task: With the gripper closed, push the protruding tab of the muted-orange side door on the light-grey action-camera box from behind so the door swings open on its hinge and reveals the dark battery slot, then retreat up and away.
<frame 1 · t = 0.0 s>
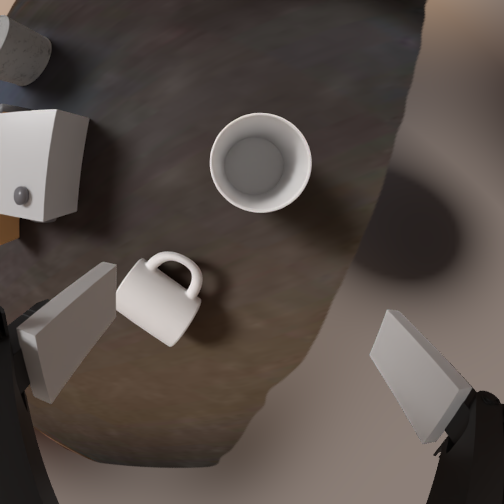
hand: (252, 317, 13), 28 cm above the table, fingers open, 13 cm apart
side door: (4, 174, 33), point 4 cm above the table, hinge at 0.0°
grey mottled cylinder: (31, 61, 32), on the table
mug: (169, 281, 43), on the table
camera body: (51, 162, 37), on the table
cup: (254, 166, 39), on the table
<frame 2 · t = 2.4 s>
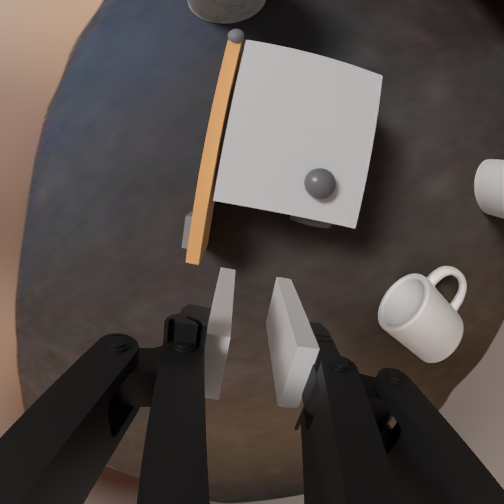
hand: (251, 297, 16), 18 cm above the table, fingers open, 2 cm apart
side door: (212, 143, 27), point 4 cm above the table, hinge at 0.0°
mug: (417, 295, 37), on the table
camera body: (288, 140, 31), on the table
cup: (490, 186, 33), on the table
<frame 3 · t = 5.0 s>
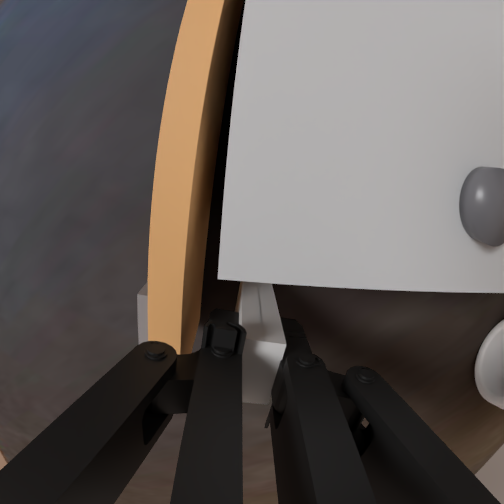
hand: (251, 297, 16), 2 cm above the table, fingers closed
side door: (192, 116, 11), point 4 cm above the table, hinge at 2.5°, touching gripper
camera body: (350, 109, 15), on the table
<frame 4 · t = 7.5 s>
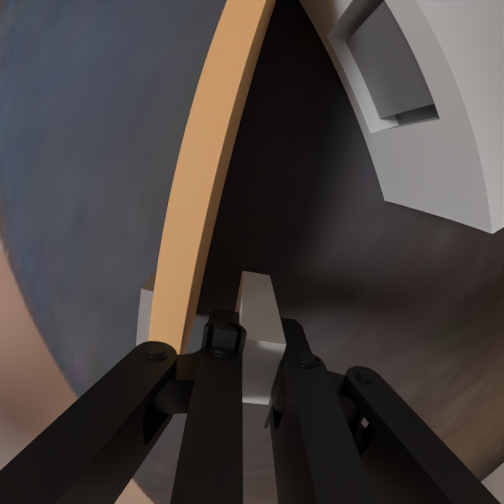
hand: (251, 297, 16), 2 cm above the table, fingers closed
side door: (214, 115, 11), point 4 cm above the table, hinge at 36.1°, touching gripper
camera body: (421, 70, 14), on the table
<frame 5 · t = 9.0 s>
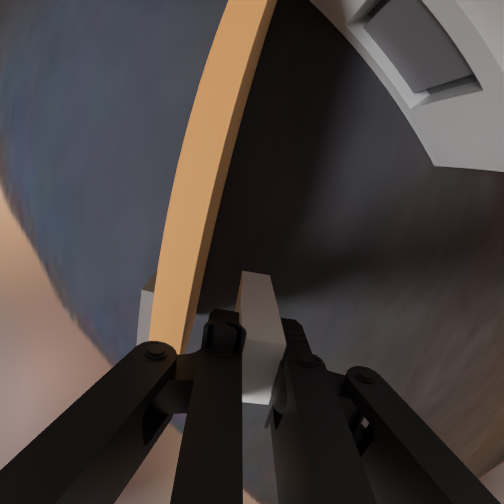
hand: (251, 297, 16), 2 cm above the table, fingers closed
side door: (215, 117, 11), point 4 cm above the table, hinge at 53.0°, touching gripper
camera body: (428, 37, 13), on the table
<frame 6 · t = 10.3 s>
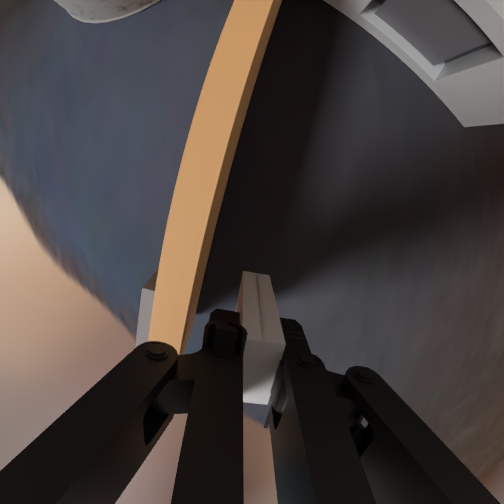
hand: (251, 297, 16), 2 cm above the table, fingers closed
side door: (218, 116, 11), point 4 cm above the table, hinge at 69.3°, touching gripper
camera body: (425, 8, 13), on the table
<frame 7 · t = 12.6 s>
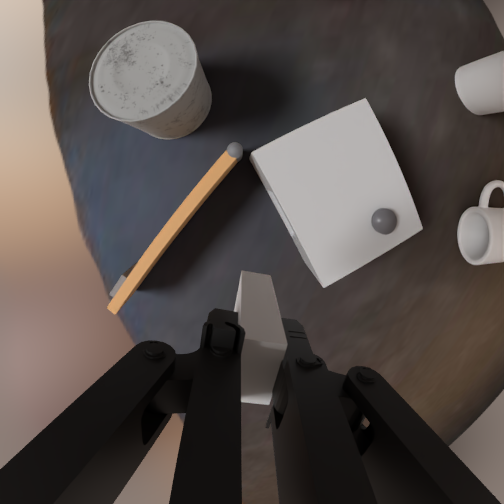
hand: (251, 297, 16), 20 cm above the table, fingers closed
side door: (171, 226, 31), point 4 cm above the table, hinge at 69.5°
grey mottled cylinder: (172, 101, 32), on the table
mug: (478, 217, 36), on the table
camera body: (322, 188, 35), on the table
cup: (472, 90, 31), on the table
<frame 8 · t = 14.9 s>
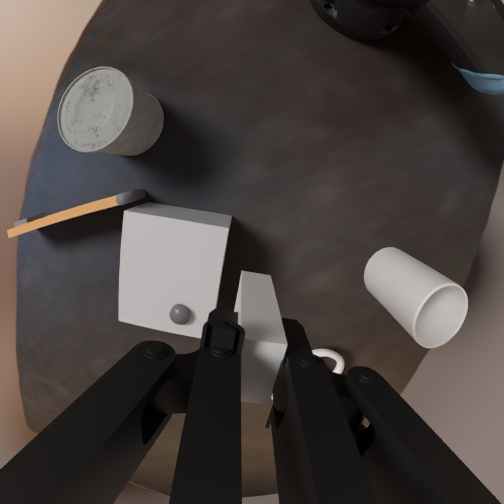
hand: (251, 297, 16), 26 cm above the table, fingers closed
side door: (69, 211, 36), point 4 cm above the table, hinge at 69.5°
grey mottled cylinder: (132, 123, 37), on the table
mug: (305, 363, 48), on the table
camera body: (182, 257, 42), on the table
cup: (386, 272, 44), on the table
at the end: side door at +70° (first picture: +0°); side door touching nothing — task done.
